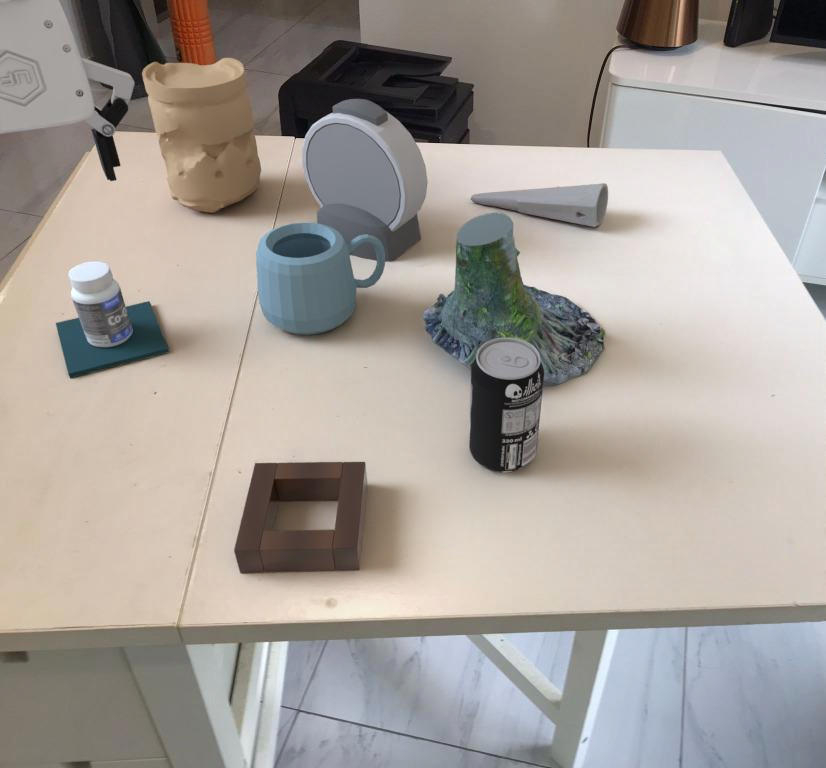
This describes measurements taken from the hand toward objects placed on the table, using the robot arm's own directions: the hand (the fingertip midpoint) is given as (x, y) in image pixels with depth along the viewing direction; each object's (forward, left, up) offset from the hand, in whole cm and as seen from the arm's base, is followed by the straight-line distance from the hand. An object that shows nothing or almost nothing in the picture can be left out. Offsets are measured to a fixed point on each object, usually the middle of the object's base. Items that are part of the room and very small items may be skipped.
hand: (51, 184), depth 70 cm
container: (+20, +35, -22) cm, 46 cm away
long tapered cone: (+60, +13, -22) cm, 65 cm away
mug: (+24, +2, -22) cm, 32 cm away
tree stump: (+41, -13, -22) cm, 48 cm away
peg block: (+11, -28, -22) cm, 37 cm away
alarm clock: (+35, +16, -22) cm, 44 cm away
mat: (+1, +7, -22) cm, 23 cm away
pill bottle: (+1, +7, -21) cm, 22 cm away
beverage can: (+31, -28, -22) cm, 47 cm away
